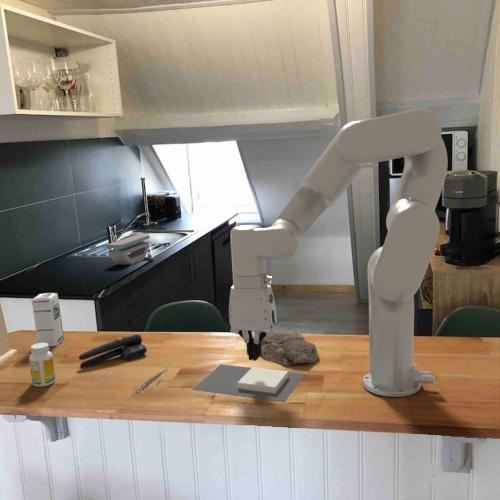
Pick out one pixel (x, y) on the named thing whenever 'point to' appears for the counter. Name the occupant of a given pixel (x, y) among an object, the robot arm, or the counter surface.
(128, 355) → the can opener
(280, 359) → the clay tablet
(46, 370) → the supplement bottle
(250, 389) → the tile
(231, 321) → the robot arm
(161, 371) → the old metal nails
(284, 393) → the mat
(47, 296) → the syrup box
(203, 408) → the counter surface
